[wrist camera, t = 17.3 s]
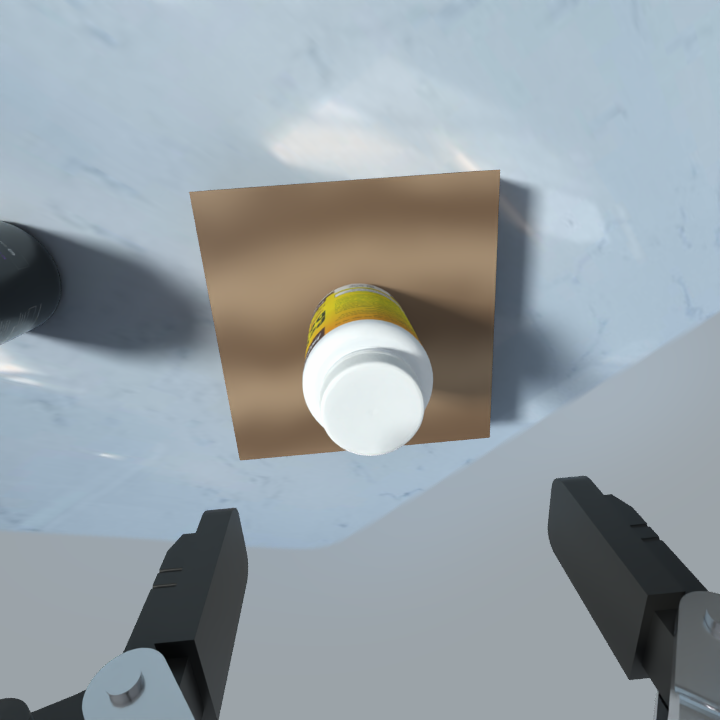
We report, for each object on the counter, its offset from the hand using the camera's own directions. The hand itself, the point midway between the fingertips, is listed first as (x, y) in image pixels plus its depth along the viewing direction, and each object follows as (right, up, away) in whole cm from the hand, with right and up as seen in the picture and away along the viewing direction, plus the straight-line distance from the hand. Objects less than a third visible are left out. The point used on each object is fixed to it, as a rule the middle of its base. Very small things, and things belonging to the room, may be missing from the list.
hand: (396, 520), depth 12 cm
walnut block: (-1, +7, +19) cm, 20 cm away
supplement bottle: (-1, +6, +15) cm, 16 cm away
